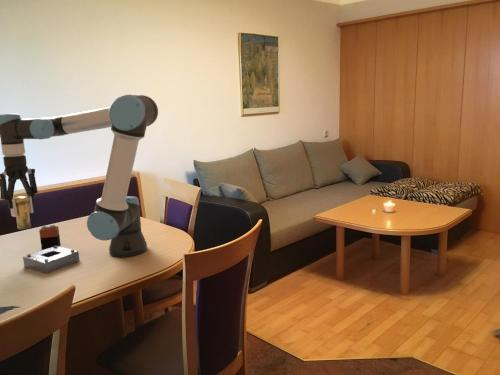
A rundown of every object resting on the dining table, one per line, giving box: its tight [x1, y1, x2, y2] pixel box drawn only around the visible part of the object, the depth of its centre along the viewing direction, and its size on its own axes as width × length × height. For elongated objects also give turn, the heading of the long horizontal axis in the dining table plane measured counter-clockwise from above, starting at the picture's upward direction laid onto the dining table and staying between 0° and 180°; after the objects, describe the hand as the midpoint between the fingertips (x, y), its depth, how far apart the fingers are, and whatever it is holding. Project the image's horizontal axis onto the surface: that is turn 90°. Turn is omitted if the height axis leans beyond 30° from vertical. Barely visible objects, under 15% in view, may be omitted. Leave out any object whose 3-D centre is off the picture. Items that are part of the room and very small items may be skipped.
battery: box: [38, 224, 62, 251], centre depth 181 cm, size 4×7×10 cm, turn 101°
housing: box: [22, 245, 80, 274], centre depth 163 cm, size 14×14×5 cm
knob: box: [13, 195, 32, 230], centre depth 164 cm, size 6×6×12 cm
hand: (22, 214), depth 165 cm, fingers closed on knob, 6 cm apart
